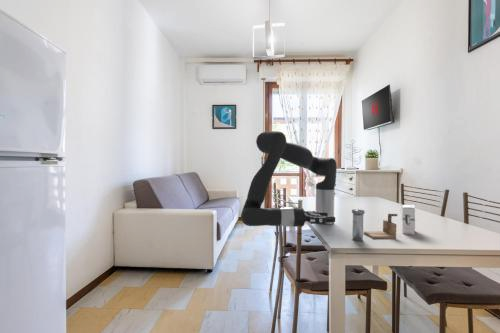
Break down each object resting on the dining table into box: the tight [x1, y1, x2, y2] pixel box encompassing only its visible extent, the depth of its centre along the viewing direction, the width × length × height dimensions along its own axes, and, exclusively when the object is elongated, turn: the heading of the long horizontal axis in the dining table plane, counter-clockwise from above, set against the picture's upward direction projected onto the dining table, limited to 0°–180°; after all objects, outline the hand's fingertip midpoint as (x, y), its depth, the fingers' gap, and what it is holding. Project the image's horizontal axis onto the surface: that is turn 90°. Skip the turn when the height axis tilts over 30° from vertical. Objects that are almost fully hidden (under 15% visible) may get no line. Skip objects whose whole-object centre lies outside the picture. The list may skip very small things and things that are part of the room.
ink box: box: [401, 204, 416, 236], centre depth 129 cm, size 9×5×12 cm, turn 149°
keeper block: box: [363, 213, 398, 240], centre depth 121 cm, size 8×12×10 cm, turn 94°
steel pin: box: [351, 208, 366, 242], centre depth 115 cm, size 5×5×12 cm
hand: (330, 217), depth 114 cm, fingers open, 8 cm apart
